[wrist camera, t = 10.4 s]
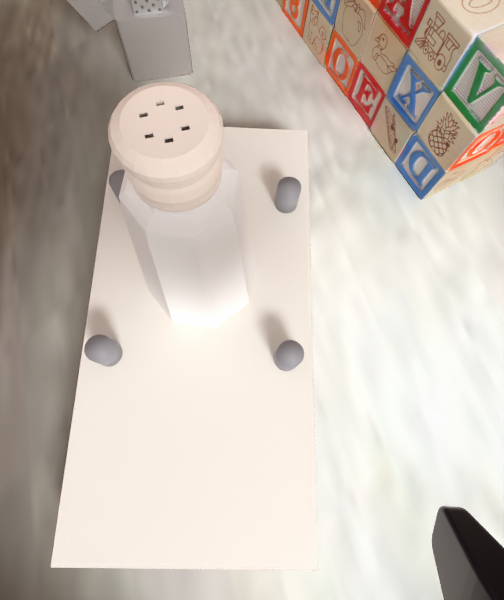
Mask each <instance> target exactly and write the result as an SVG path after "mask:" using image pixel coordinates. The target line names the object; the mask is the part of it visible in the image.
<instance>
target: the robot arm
mask: <svg viewBox="0 0 504 600" xmlns="http://www.w3.org/2000/svg"><path fill="white" fill-rule="evenodd" d="M432 548H433V553H434V557H435V562H436V566H437V571H438V575H439V580H440V584H441V589H442V593H443V598H444V600H504V548H503V547H502V546H501V545H500V544H499V543H498V542H497V541H496V540H495V539H494V538H493V537H492V536H491V535H490V534H489V532H488V531H487V530H486V529H485V528H484V527H483V526H482V525H481V524H480V523H479V522H478V521H477V520H476V519H475V518H474V517H473V516H472V515H471V514H470V513H469V512H468V511H466V510H465V509H463V508H461V507H449V506H442V507H440V508H439V510H438V513H437V517H436V521H435V526H434V530H433V534H432Z"/></svg>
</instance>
